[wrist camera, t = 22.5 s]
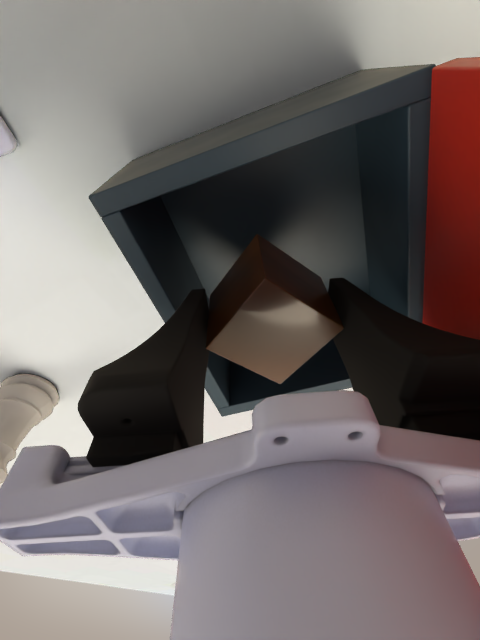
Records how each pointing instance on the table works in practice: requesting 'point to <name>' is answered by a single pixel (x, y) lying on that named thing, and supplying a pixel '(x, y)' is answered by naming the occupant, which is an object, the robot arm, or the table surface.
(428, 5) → the table surface
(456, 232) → the lid
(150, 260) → the dark grey open box
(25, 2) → the table surface
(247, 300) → the block
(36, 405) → the rook chess piece
